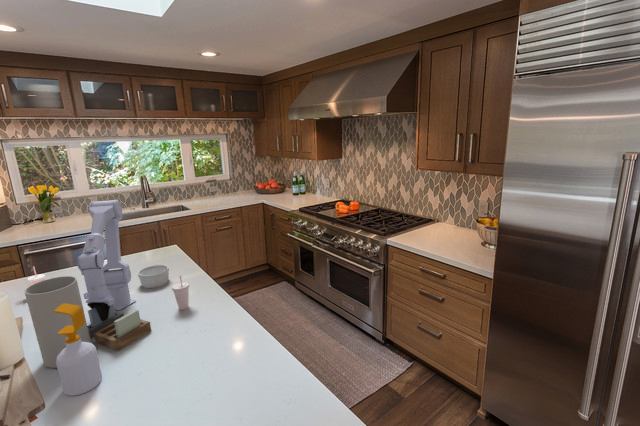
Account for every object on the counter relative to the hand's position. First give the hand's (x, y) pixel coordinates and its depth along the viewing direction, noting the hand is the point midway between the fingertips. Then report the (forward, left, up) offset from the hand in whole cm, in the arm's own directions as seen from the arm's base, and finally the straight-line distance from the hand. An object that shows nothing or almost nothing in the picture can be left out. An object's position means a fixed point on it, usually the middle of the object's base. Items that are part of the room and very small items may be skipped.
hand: (103, 319), depth 121 cm
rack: (+12, -1, -4) cm, 13 cm away
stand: (0, 0, -4) cm, 4 cm away
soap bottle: (+23, -21, -4) cm, 31 cm away
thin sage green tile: (+16, -1, -4) cm, 16 cm away
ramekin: (-15, +34, -4) cm, 37 cm away
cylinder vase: (+5, -15, -4) cm, 16 cm away
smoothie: (+16, +22, -4) cm, 27 cm away
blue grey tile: (0, 0, -4) cm, 4 cm away
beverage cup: (-55, +6, -4) cm, 55 cm away
